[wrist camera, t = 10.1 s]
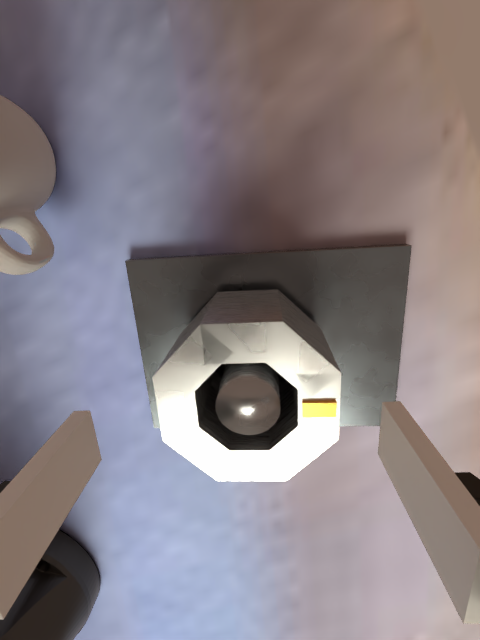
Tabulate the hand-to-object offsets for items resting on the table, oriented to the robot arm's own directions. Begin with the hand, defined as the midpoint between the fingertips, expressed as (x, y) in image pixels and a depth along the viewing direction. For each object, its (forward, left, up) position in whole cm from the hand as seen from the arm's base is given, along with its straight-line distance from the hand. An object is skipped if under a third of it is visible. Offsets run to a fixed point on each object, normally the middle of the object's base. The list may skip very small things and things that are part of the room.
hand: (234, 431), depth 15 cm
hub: (0, 0, -8) cm, 8 cm away
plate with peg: (+2, 0, -10) cm, 10 cm away
